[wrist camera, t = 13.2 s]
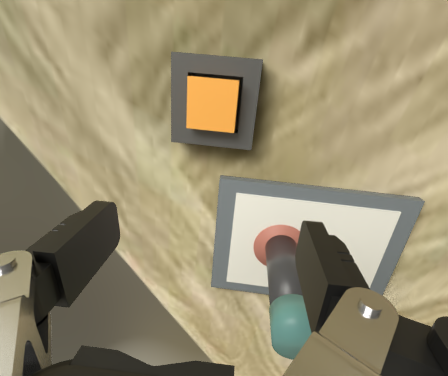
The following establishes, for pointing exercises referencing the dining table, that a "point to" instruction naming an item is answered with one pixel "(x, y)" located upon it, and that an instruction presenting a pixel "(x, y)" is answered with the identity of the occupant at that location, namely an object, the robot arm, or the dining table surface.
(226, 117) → the button
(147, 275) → the dining table surface
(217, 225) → the drawing board
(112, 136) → the dining table surface
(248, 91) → the button housing
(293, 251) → the marker
